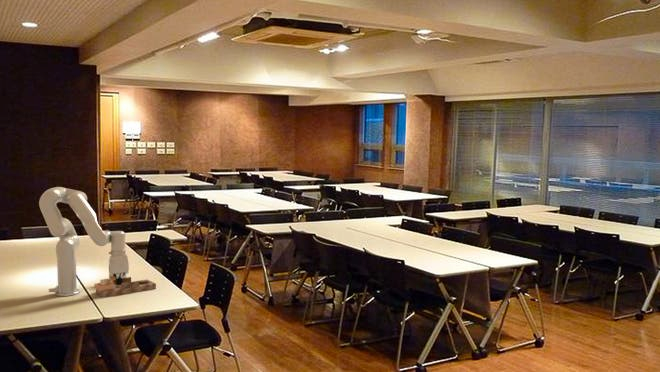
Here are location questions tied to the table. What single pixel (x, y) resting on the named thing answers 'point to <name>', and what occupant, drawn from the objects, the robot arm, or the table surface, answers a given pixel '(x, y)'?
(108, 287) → the sled
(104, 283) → the maple cube
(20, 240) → the table surface
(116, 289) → the track
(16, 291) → the table surface
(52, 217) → the robot arm
